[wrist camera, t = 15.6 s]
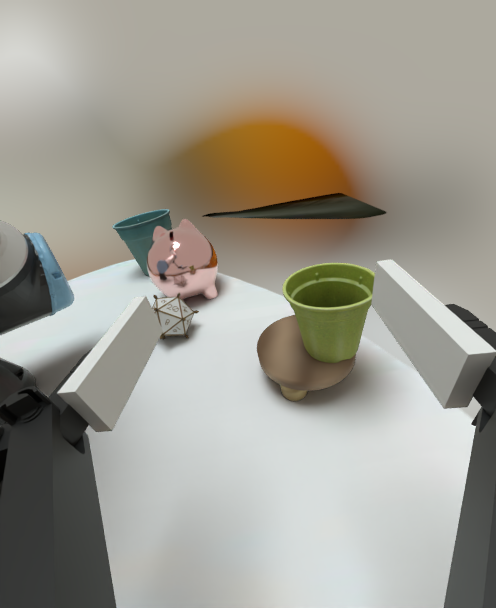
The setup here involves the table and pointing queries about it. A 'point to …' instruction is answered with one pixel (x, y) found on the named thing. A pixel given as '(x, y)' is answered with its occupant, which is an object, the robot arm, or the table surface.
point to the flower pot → (142, 233)
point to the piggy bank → (182, 262)
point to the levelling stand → (296, 361)
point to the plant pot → (330, 307)
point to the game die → (173, 315)
